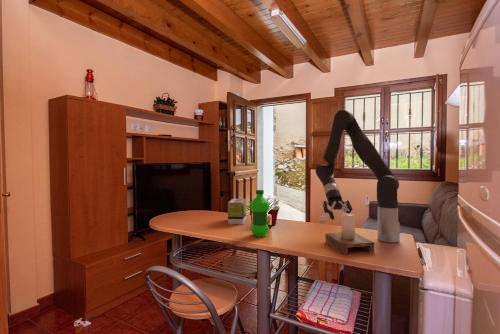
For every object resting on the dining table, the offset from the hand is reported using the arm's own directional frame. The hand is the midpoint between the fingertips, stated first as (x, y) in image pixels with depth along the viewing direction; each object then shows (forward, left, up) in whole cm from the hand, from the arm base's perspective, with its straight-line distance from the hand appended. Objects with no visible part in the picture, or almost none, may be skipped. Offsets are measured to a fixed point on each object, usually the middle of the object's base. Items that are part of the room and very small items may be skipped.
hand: (341, 218), depth 131 cm
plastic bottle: (+38, -19, -12) cm, 44 cm away
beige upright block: (+1, +7, -7) cm, 10 cm away
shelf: (+1, +8, -12) cm, 14 cm away
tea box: (+46, -52, -12) cm, 71 cm away
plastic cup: (+26, -39, -12) cm, 49 cm away
